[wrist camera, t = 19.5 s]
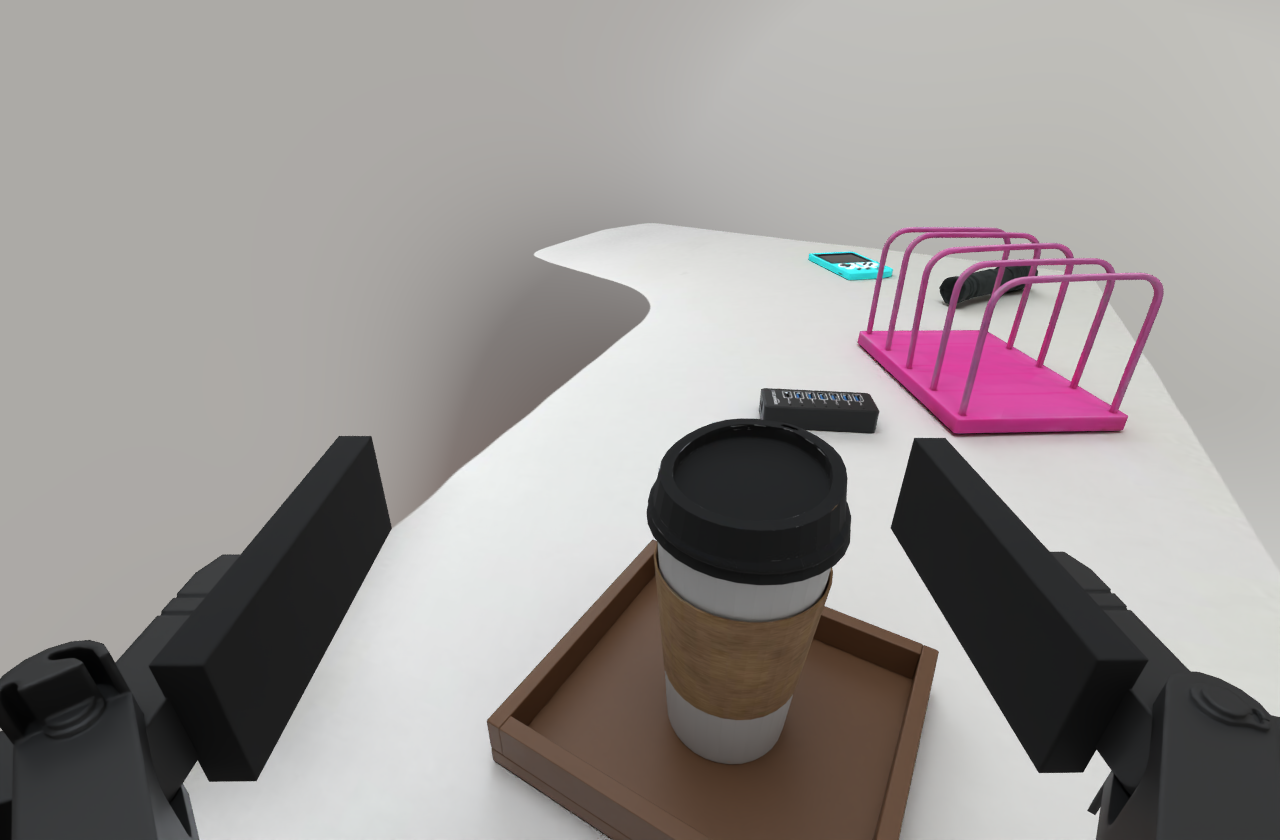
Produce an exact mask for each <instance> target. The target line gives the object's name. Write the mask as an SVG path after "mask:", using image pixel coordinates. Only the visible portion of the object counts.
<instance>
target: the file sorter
mask: <svg viewBox="0 0 1280 840" xmlns="http://www.w3.org/2000/svg"><path fill="white" fill-rule="evenodd" d="M909 232H931V233H925V234H923V235H921V236H918V237H917V238H916V239H914V240H913V242H911V243H910V244H909V246H908V247H907V249H906V251H905V254H904V257H903V261H902V266H901V270H900V275H899V280H898V285H897V290H896V295H895V300H894V305H893V310H892V315H891V320H890V325H889V330H888V331H872V328H873V324H874V318H875V313H876V308H877V302H878V297H879V292H880V287H881V282H882V277H883V272H884V267H885V262H886V257H887V253H888V249H889V246H890V244H891V243H892V242H893V240H894V239H895V238H896V237H898V236H899V235H901V234H903V233H909ZM940 237H941V238H943V237H945V238H951V237H952V238H956V237H957V238H967V237H968V238H969V237H971V238H972V237H973V238H975V237H977V238H979V237H980V238H1003V239H1004V242H1005V245H985V246H969V247H968V246H967V247H953V248H948V249H945V250H943V251H940V252H939V253H938V254H936V255H935V256H934V257H933V258H932V259H931V260H930V261H929V262H928V264H927V265H926V267H925V269H924V272H923V276H922V281H921V286H920V291H919V296H918V301H917V307H916V312H915V318H914V323H913V329H912V331H894V329H895V323H896V318H897V314H898V309H899V305H900V299H901V295H902V290H903V285H904V280H905V275H906V270H907V266H908V262H909V257H910V254H911V252H912V250H913V249H914V247H915V246H916V245H917V244H918V243H919V242H921V241H922V240H924V239H927V238H940ZM1010 238H1026V239H1028V240H1030V242H1032V244H1011V243H1010ZM1025 249H1034V257H1033V259H1028V260H1027V259H1025V260H1008V256H1009V253H1010V250H1025ZM1041 249H1059V250H1061V251H1062V252H1063V253H1064V254H1065V256H1066V259H1040V254H1041ZM1002 250H1004V253H1003V257H1002V260H997V261H983V262H979V263H976V264H974V265H972V266H971V267H969V268H968V269H966V270H965V271H964V272H963V273H962V274H961V275H960V277H959V278H958V279H957V281H956V283H955V285H954V289H953V292H952V295H951V299H950V304H949V308H948V312H947V316H946V320H945V325H944V329H943V331H919V325H920V320H921V315H922V309H923V304H924V299H925V293H926V289H927V284H928V279H929V275H930V272H931V270H932V268H933V266H934V265H935V263H936V262H937V261H938V260H939V259H941V258H942V257H944V256H946V255H949V254H955V253H967V252H984V251H1002ZM1081 264H1098V265H1101V266H1102V267H1104V268H1105V270H1106V272H1107V273H1105V274H1073V275H1071V274H1072V270H1073V266H1074V265H1081ZM1038 265H1066V269H1065V273H1064V275H1049V276H1035V273H1036V270H1037V266H1038ZM1007 266H1031V268H1030V272H1029V275H1028V277H1020V278H1016V279H1013V280H1011V281H1009V282H1006V283H1005V284H1003V285H1002V286H1001V287H1000V284H1001V280H1002V277H1003V274H1004V270H1005V267H1007ZM986 267H1000V268H999V271H998V275H997V278H996V282H995V285H994V288H993V292H992V295H991V298H990V300H989V302H988V304H987V307H986V310H985V313H984V317H983V320H982V324H981V328H980V330H953V331H950V330H951V325H952V321H953V317H954V313H955V309H956V305H957V301H958V297H959V294H960V290H961V287H962V285H963V283H964V281H965V280H966V279H967V277H969V276H970V275H971V274H972V273H974V272H975V271H977V270H979V269H982V268H986ZM1137 279H1138V280H1140V279H1141V280H1147V281H1149V282H1150V283H1151V285H1152V286H1153V289H1154V297H1153V300H1152V303H1151V305H1150V308H1149V311H1148V313H1147V316H1146V319H1145V322H1144V324H1143V326H1142V329H1141V331H1140V334H1139V336H1138V339H1137V341H1136V344H1135V346H1134V348H1133V351H1132V353H1131V356H1130V358H1129V361H1128V364H1127V366H1126V368H1125V371H1124V374H1123V376H1122V379H1121V381H1120V384H1119V387H1118V390H1117V392H1116V394H1115V397H1114V399H1113V402H1112V405H1109V404H1107V403H1106V402H1104V401H1102V400H1101V399H1099V398H1097V397H1096V396H1094V395H1092V394H1091V393H1089V392H1087V391H1086V390H1084V389H1082V388H1081V387H1079V386H1078V383H1079V380H1080V378H1081V375H1082V373H1083V370H1084V367H1085V364H1086V362H1087V359H1088V357H1089V354H1090V351H1091V348H1092V346H1093V343H1094V340H1095V337H1096V335H1097V332H1098V329H1099V327H1100V324H1101V321H1102V318H1103V316H1104V313H1105V310H1106V307H1107V305H1108V302H1109V299H1110V296H1111V293H1112V291H1113V288H1114V284H1115V280H1137ZM1099 280H1107V284H1106V287H1105V290H1104V293H1103V296H1102V299H1101V301H1100V304H1099V307H1098V310H1097V313H1096V316H1095V319H1094V321H1093V324H1092V327H1091V329H1090V332H1089V335H1088V338H1087V340H1086V343H1085V346H1084V349H1083V352H1082V354H1081V357H1080V359H1079V362H1078V365H1077V368H1076V370H1075V373H1074V376H1073V378H1072V381H1069V380H1067V379H1066V378H1064V377H1062V376H1061V375H1059V374H1057V373H1056V372H1054V371H1052V370H1051V369H1049V368H1048V367H1046V366H1044V365H1043V363H1044V360H1045V357H1046V354H1047V351H1048V348H1049V345H1050V341H1051V338H1052V335H1053V332H1054V329H1055V325H1056V322H1057V319H1058V316H1059V313H1060V310H1061V306H1062V303H1063V300H1064V297H1065V294H1066V291H1067V287H1068V284H1069V282H1073V281H1099ZM1050 282H1062V283H1061V286H1060V290H1059V293H1058V296H1057V300H1056V303H1055V307H1054V310H1053V313H1052V316H1051V319H1050V322H1049V326H1048V329H1047V332H1046V335H1045V338H1044V341H1043V344H1042V347H1041V350H1040V354H1039V357H1038V360H1037V361H1036V360H1034V359H1033V358H1031V357H1029V356H1028V355H1026V354H1024V353H1023V352H1021V351H1019V350H1018V349H1016V348H1014V347H1013V344H1014V341H1015V338H1016V334H1017V331H1018V328H1019V325H1020V322H1021V318H1022V315H1023V312H1024V309H1025V306H1026V302H1027V299H1028V296H1029V292H1030V289H1031V286H1032V283H1050ZM1020 284H1026V285H1025V288H1024V291H1023V294H1022V298H1021V301H1020V304H1019V307H1018V311H1017V314H1016V318H1015V321H1014V324H1013V327H1012V330H1011V334H1010V337H1009V340H1008V343H1006V342H1004V341H1003V340H1001V339H999V338H998V337H996V336H994V335H993V334H991V333H989V332H988V328H989V324H990V321H991V317H992V314H993V310H994V308H995V305H996V303H997V301H998V300H999V298H1000V297H1001V296H1002V295H1003V294H1004V293H1005V292H1006V291H1008V290H1009V289H1011V288H1012V287H1015V286H1017V285H1020ZM1162 298H1163V286H1162V283H1161V282H1160V280H1159V279H1157V278H1156V277H1154V276H1153V275H1149V274H1146V273H1115V271H1114V268H1113V267H1112V265H1111V264H1109V263H1108V262H1107V261H1104V260H1101V259H1097V258H1074V257H1073V254H1072V252H1071V250H1070V249H1069V248H1068V247H1066V246H1064V245H1062V244H1057V243H1039V241H1038V240H1037V239H1036V238H1035V237H1034V236H1032V235H1030V234H1026V233H1006V232H1004V231H1003V230H1001V229H998V228H980V227H976V228H975V227H913V228H912V227H911V228H903V229H900V230H898V231H896V232H895V233H893V234H892V235H891V236H890V237H889V238H888V239H887V241H886V243H885V245H884V248H883V250H882V255H881V260H880V264H879V269H878V274H877V279H876V285H875V290H874V296H873V301H872V306H871V311H870V317H869V322H868V328H867V331H860V334H859V338H858V343H859V344H860V345H861V346H862V347H863V348H864V349H865V350H866V351H867V352H868V353H869V354H871V355H872V356H873V357H874V358H875V359H876V360H877V361H878V362H879V363H880V364H881V365H882V366H883V367H884V368H885V369H887V370H888V371H889V372H890V373H891V374H892V375H893V376H894V377H895V378H896V379H897V380H898V381H899V382H900V383H901V384H903V385H904V386H905V387H906V388H907V389H908V390H909V391H910V392H911V393H912V394H913V395H914V396H915V397H916V398H917V399H918V400H920V401H921V402H922V403H923V404H924V405H925V406H926V407H927V408H928V409H929V410H930V411H931V412H932V413H933V414H934V415H935V416H936V417H937V418H938V419H940V420H941V421H942V422H943V423H944V424H945V425H946V426H947V427H948V428H949V429H950V430H951V431H952V432H953V433H999V432H1049V431H1120V430H1123V429H1124V426H1125V423H1126V421H1127V418H1128V416H1127V415H1126V414H1124V413H1123V412H1121V411H1119V410H1118V409H1119V407H1120V404H1121V402H1122V399H1123V397H1124V394H1125V392H1126V389H1127V387H1128V384H1129V382H1130V380H1131V377H1132V375H1133V372H1134V370H1135V367H1136V365H1137V362H1138V360H1139V358H1140V355H1141V353H1142V350H1143V348H1144V345H1145V343H1146V340H1147V338H1148V335H1149V333H1150V330H1151V328H1152V325H1153V323H1154V320H1155V318H1156V316H1157V313H1158V310H1159V308H1160V305H1161V302H1162Z"/></svg>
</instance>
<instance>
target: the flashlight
mask: <svg viewBox="0 0 1280 840" xmlns="http://www.w3.org/2000/svg"><path fill="white" fill-rule="evenodd" d="M1019 260H1025V259H1019ZM999 268H1000V267H997V268H995V269H988V270H984V271H979V272H975V273H972V274H971V275H970V276H969V277H967V279H966V280H965V281H964V283H963V285H962V287H961V290H960V294H959V297H958V301H957V303H959V302H962V301H964V300H968V299H971V298H973V297H977V296H982V295H988V294H991V293H992V292H993V288H994V285H995V282H996V278H997V275H998V271H999ZM1030 268H1031V266H1007V267H1005V270H1004V274H1003V277H1002V280H1001V284H1000V287H1001V286H1002V285H1003V284H1005V283H1006V282H1009V281H1011V280H1013V279H1016V278H1020V277H1028V275H1029V272H1030ZM1037 275H1038V271H1037V270H1036V273H1035V276H1037ZM959 277H960V276H959ZM959 277H958V276H955V277H950V278H947V279H945V280H944V281H943V283H942V285H941V286H940V293H941V296H942V298H943V300H944V302H945V303H947V304H950V299H951V295H952V292H953V289H954V285H955V283H956V281H957V279H958V278H959ZM1025 285H1026V284H1020V285H1017V286H1015V287H1012V288H1011V289H1009V290H1008V291H1006V292H1010V291H1015V290H1019V289H1023V288H1025Z"/></svg>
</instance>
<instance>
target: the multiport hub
mask: <svg viewBox="0 0 1280 840" xmlns="http://www.w3.org/2000/svg"><path fill="white" fill-rule="evenodd" d="M759 412H760V418H761V420H770V421H777V422H783V423H788V424H792V425H795V426H798V427H800V428H802V429H805V430H824V431H843V432H862V433H874V432H875V429H876V424H877V420H878V415H879V410H878V408H877V406H876V404H875V403H874V401H873V399H872V397H871V395H870V394H867V393H853V392H832V391H810V390H789V389H768V388H764V389H761V396H760V405H759Z"/></svg>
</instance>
